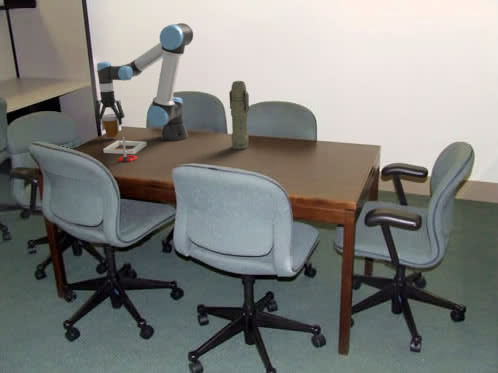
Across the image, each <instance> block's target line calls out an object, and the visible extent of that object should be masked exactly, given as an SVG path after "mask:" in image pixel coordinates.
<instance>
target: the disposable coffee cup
mask: <svg viewBox="0 0 498 373" xmlns="http://www.w3.org/2000/svg"><path fill="white" fill-rule="evenodd" d="M117 119H118V118H117V116H116V114H115V113H109V114H104V115H103V116H102V120H103V123H104V127H105V130H104V131H105V135H106V137H107V138H108V139H112V138H117V137H118V136H119V131H118V125H117Z"/></svg>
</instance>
